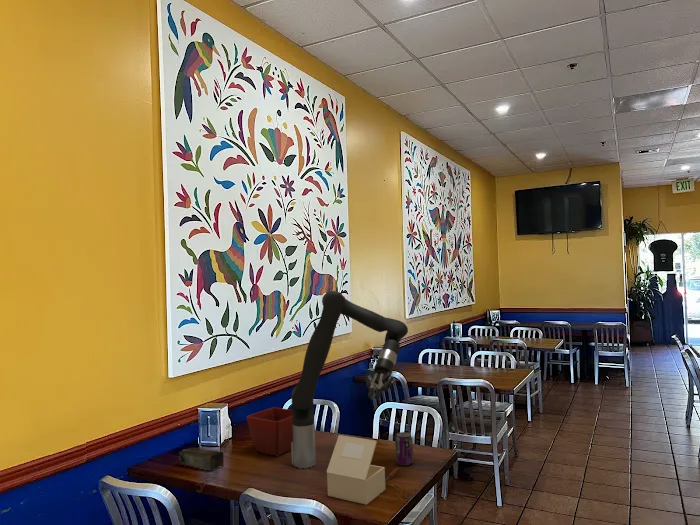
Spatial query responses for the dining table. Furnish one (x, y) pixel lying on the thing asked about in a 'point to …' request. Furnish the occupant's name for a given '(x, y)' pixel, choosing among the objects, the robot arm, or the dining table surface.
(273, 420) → the plant pot
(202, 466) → the dark brown block
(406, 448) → the beverage can
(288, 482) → the dining table surface
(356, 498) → the cardboard box
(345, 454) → the box lid
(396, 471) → the screwdriver
